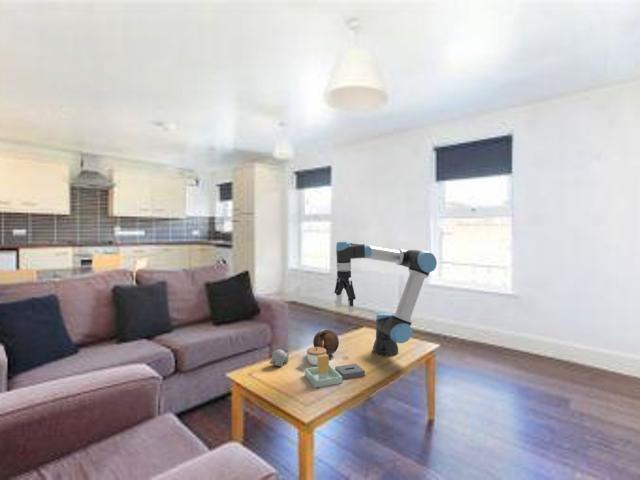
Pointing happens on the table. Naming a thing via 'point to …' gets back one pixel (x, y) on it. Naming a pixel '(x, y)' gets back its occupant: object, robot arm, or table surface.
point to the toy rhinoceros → (279, 358)
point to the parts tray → (314, 379)
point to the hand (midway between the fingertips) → (345, 309)
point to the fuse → (323, 366)
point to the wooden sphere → (326, 341)
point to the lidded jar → (315, 354)
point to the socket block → (350, 371)
